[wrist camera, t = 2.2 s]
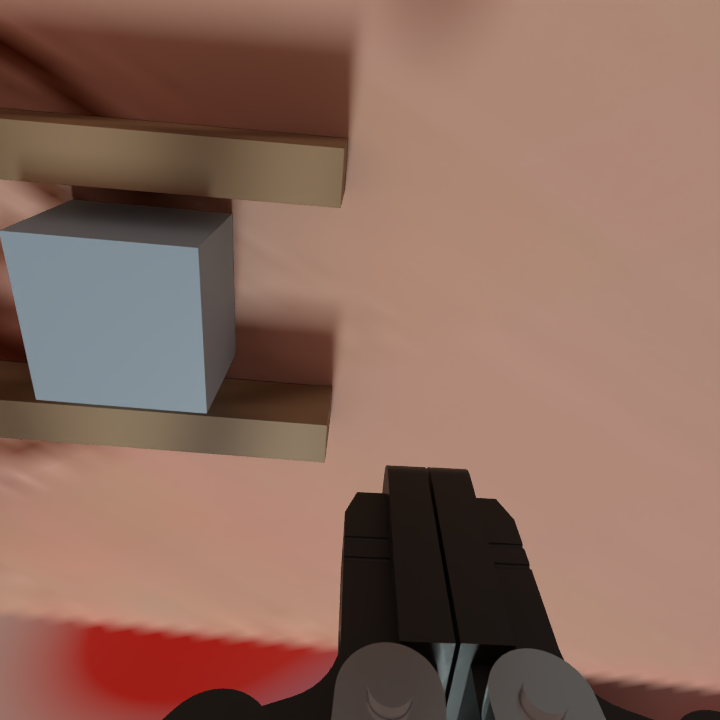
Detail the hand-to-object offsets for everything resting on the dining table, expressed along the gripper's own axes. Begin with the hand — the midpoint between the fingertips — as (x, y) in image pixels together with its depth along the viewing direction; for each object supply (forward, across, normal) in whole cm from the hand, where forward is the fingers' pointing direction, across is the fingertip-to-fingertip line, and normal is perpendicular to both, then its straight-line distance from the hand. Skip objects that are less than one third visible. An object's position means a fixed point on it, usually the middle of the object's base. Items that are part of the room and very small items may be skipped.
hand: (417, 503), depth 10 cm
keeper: (+10, +8, 0) cm, 13 cm away
